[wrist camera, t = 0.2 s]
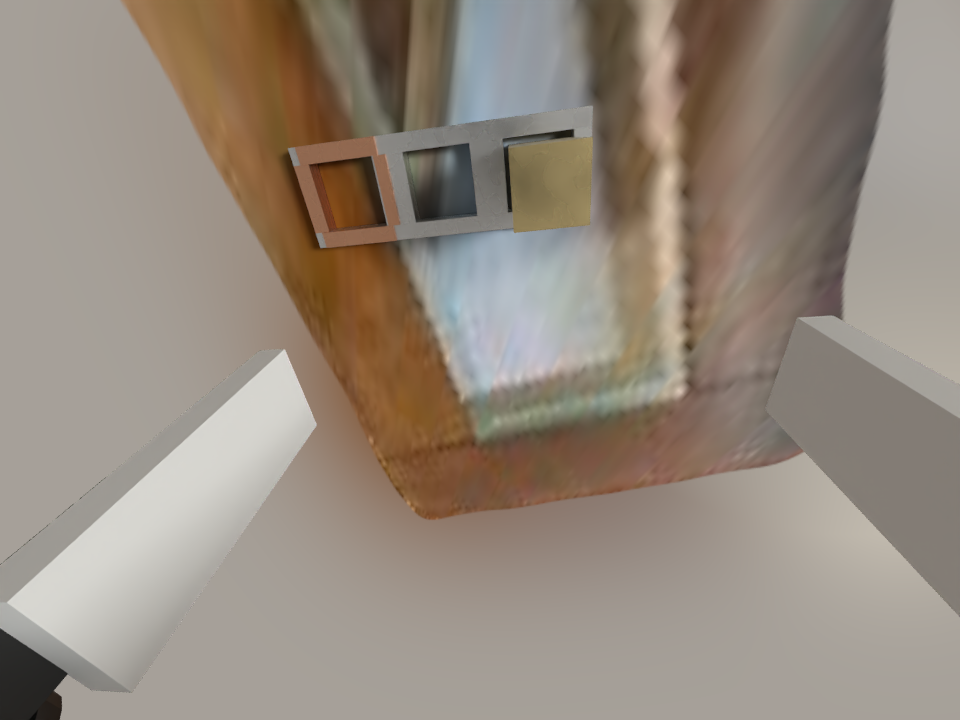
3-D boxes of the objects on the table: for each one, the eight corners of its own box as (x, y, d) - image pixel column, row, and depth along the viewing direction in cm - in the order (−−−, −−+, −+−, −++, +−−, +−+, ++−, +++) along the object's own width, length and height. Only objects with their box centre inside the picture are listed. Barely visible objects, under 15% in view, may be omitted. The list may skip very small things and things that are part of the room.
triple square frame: (297, 147, 31) (286, 148, 30) (588, 107, 28) (593, 105, 27) (327, 243, 35) (319, 248, 34) (585, 216, 32) (589, 220, 31)
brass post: (509, 144, 30) (508, 148, 20) (564, 137, 30) (592, 137, 19) (513, 202, 32) (513, 232, 22) (564, 196, 32) (589, 224, 22)
